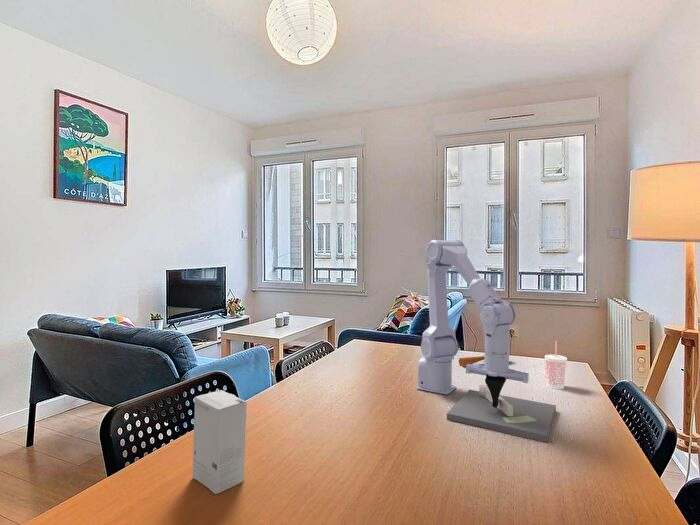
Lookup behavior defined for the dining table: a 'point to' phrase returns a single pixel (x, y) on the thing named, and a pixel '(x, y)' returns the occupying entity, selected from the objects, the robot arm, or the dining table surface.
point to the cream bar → (502, 403)
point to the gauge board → (524, 422)
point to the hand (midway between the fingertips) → (495, 406)
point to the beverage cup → (555, 370)
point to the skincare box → (219, 440)
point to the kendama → (470, 360)
